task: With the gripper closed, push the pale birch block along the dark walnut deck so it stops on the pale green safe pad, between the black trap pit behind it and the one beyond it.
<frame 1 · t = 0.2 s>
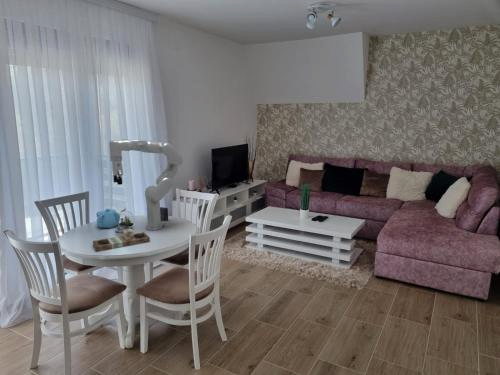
hand: (118, 183, 245), 36 cm above the table, tool pointing down, fingers open, 9 cm apart
decorative pot: (109, 226, 269), on the table
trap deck: (121, 243, 233), on the table
birch block: (128, 237, 234), point 3 cm above the table, touching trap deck
small box: (161, 220, 283), on the table
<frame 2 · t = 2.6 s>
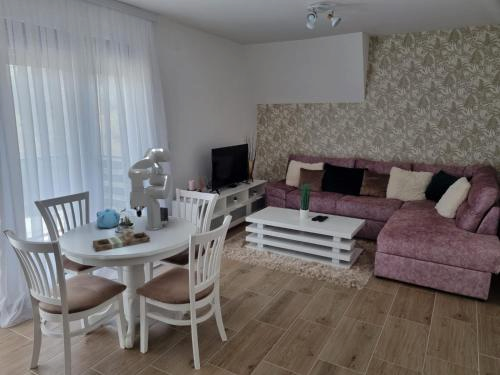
hand: (139, 216, 236), 17 cm above the table, tool pointing down, fingers closed
nothing on the table moved.
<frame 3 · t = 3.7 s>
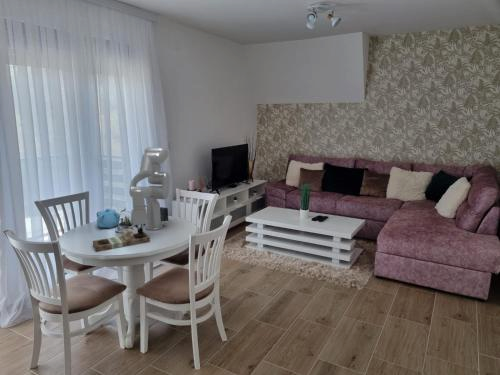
hand: (140, 234, 238), 4 cm above the table, tool pointing down, fingers closed
nothing on the table moved.
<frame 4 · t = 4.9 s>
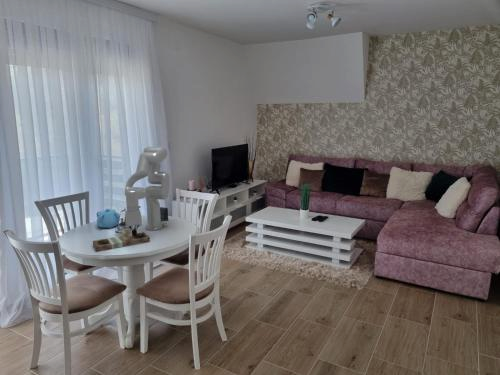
hand: (134, 235, 236), 4 cm above the table, tool pointing down, fingers closed
birch block: (126, 238, 234), point 3 cm above the table, touching gripper, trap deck
everything else where it was.
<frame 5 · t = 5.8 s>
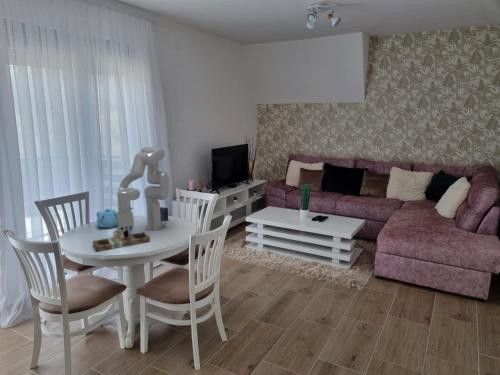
hand: (126, 236, 233), 4 cm above the table, tool pointing down, fingers closed
birch block: (118, 239, 231), point 3 cm above the table, touching gripper, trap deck
everything else where it was.
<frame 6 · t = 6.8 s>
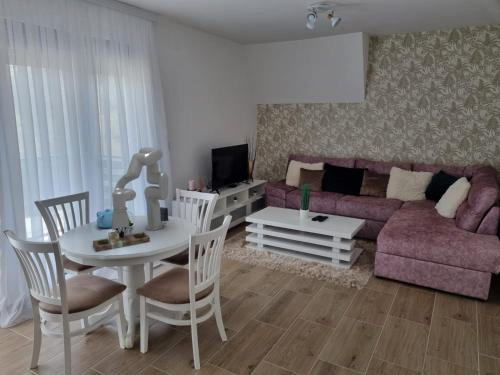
hand: (121, 237, 232), 4 cm above the table, tool pointing down, fingers closed
birch block: (113, 240, 229), point 3 cm above the table, touching gripper, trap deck
everything else where it was.
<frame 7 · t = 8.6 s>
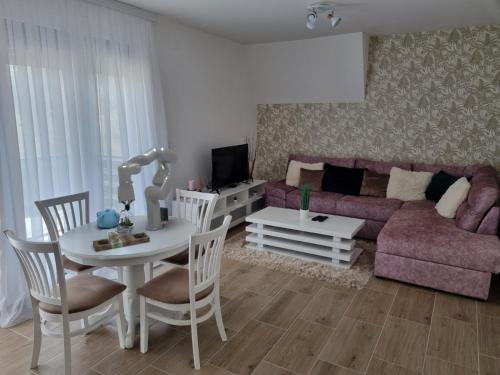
hand: (127, 210, 238), 20 cm above the table, tool pointing down, fingers closed
birch block: (113, 240, 229), point 3 cm above the table, touching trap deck
everything else where it was.
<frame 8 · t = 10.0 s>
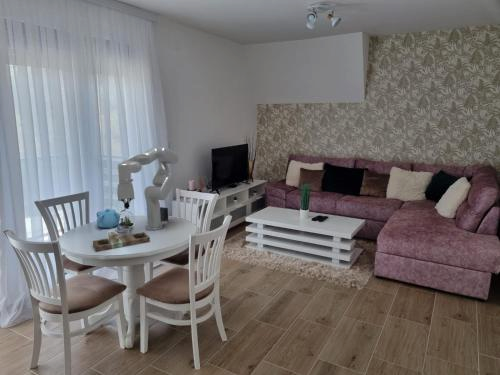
hand: (127, 208, 238), 21 cm above the table, tool pointing down, fingers closed
nothing on the table moved.
at the end: birch block inside the target area on the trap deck (1.1 cm from its centre), point 3.0 cm above the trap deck's base; birch block tilted 0° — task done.
